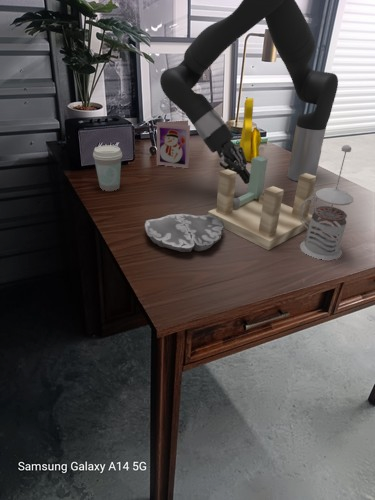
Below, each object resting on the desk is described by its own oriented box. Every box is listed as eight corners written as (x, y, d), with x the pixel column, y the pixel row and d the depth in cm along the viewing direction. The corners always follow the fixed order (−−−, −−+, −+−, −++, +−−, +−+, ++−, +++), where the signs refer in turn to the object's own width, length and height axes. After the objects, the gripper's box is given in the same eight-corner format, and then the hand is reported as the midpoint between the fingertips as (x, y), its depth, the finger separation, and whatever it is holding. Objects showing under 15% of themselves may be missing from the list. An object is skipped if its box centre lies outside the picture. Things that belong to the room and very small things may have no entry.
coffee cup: (90, 190, 117) (86, 150, 111) (105, 180, 124) (102, 143, 117) (114, 195, 114) (112, 155, 108) (129, 185, 121) (127, 147, 115)
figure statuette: (260, 168, 139) (269, 104, 128) (238, 167, 140) (245, 103, 128) (257, 153, 154) (265, 95, 143) (237, 152, 155) (244, 93, 143)
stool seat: (254, 200, 115) (260, 156, 108) (313, 225, 103) (325, 176, 96) (207, 219, 103) (211, 171, 96) (268, 250, 91) (277, 197, 84)
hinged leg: (236, 210, 102) (240, 169, 97) (226, 206, 104) (230, 166, 98) (261, 196, 111) (267, 158, 105) (253, 193, 112) (258, 156, 107)
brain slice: (154, 264, 85) (154, 252, 83) (140, 227, 99) (140, 217, 97) (237, 253, 90) (239, 242, 88) (212, 220, 104) (213, 210, 102)
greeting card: (156, 166, 137) (156, 122, 129) (161, 159, 143) (162, 117, 136) (187, 169, 135) (189, 126, 128) (192, 163, 142) (194, 120, 134)
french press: (336, 265, 87) (368, 155, 74) (286, 249, 92) (308, 144, 79) (346, 246, 94) (376, 144, 81) (299, 233, 99) (321, 134, 86)
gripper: (213, 133, 115) (247, 181, 117) (194, 145, 105) (231, 196, 107) (232, 117, 110) (266, 167, 112) (213, 128, 100) (252, 182, 102)
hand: (249, 181), depth 110 cm, fingers closed
